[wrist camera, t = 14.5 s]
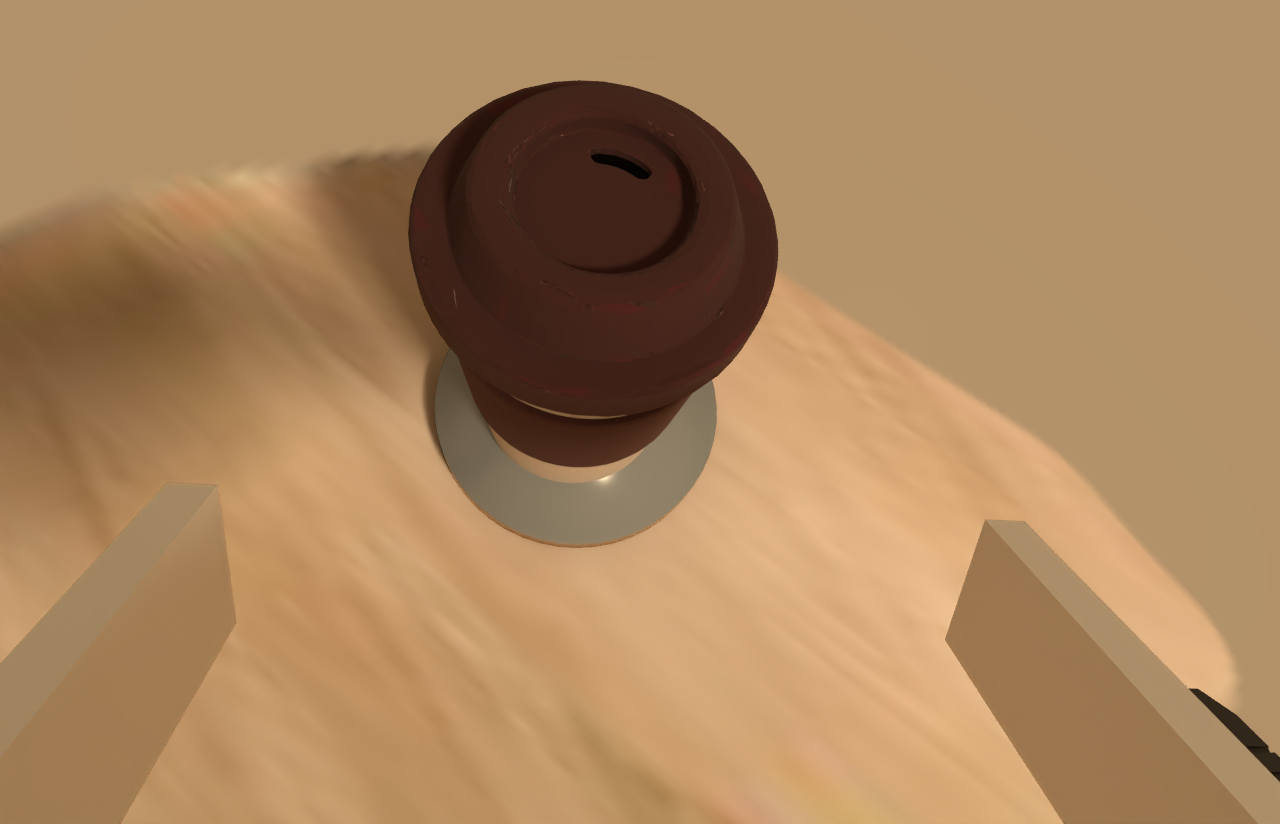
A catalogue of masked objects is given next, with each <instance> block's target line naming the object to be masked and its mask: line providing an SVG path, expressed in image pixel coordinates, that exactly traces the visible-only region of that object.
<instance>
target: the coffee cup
mask: <svg viewBox="0 0 1280 824" xmlns="http://www.w3.org/2000/svg"><path fill="white" fill-rule="evenodd" d="M408 235H409V247H410V254H411V258H412V263H413V268H414V272H415V276H416V279H417V283H418V287H419V291H420V294H421V297H422V300H423V303H424V305H425V308H426V310H427V312H428V314H429V316H430V318H431V320H432V322H433V324H434V325H435V327H436V329H437V330H438V332H439V333H440V335H441V336H442V338H443V339H444V340H445V342H446V343H447V344H448V346H449V347H450V348H451V349H452V351H453V352H454V353H455V355H456V356H457V357H458V359H459V362H460V365H461V367H462V370H463V373H464V375H465V378H466V381H467V383H468V386H469V389H470V391H471V394H472V396H473V399H474V401H475V403H476V405H477V407H478V409H479V411H480V413H481V414H482V416H483V417H484V419H485V420H486V422H487V423H488V424H489V427H490V430H491V432H492V434H493V436H494V438H495V440H496V441H497V443H498V444H499V446H500V447H501V449H502V450H503V451H504V452H505V453H506V455H508V456H509V457H510V458H511V459H512V460H513V461H514V462H515V463H516V464H518V465H519V466H520V467H522V468H523V469H525V470H527V471H529V472H530V473H532V474H534V475H536V476H539V477H541V478H545V479H548V480H551V481H556V482H563V483H585V482H591V481H595V480H599V479H602V478H605V477H608V476H610V475H612V474H614V473H616V472H618V471H620V470H621V469H623V468H625V467H626V466H627V465H628V464H630V463H631V462H632V461H633V460H634V459H635V458H636V457H637V456H638V455H639V454H640V453H641V452H642V451H643V449H644V448H645V447H646V446H647V445H649V444H650V443H651V442H653V441H654V440H655V439H656V438H657V437H658V436H659V435H660V434H661V433H662V432H663V431H664V430H665V428H666V427H667V426H668V425H669V423H670V422H671V421H672V420H673V418H674V417H675V416H676V414H677V413H678V412H679V410H680V409H681V408H682V406H683V405H684V404H685V402H686V401H687V400H688V399H689V397H690V396H691V395H692V393H694V392H695V391H697V390H698V389H700V388H701V387H702V386H704V385H705V384H707V383H708V382H709V381H711V380H712V379H714V378H715V377H717V376H718V375H719V374H720V373H721V372H722V371H723V370H724V369H725V368H726V367H727V366H728V365H729V364H730V363H731V362H732V361H733V359H734V358H735V357H736V356H737V354H738V353H739V352H740V351H741V349H742V348H743V346H744V345H745V343H746V342H747V340H748V338H749V337H750V335H751V334H752V332H753V330H754V329H755V327H756V325H757V324H758V322H759V320H760V319H761V316H762V314H763V312H764V310H765V308H766V306H767V304H768V301H769V298H770V295H771V292H772V289H773V286H774V282H775V276H776V270H777V262H778V239H777V233H776V226H775V220H774V216H773V212H772V210H771V207H770V204H769V202H768V200H767V197H766V195H765V192H764V189H763V187H762V184H761V183H760V181H759V179H758V178H757V176H756V174H755V172H754V171H753V169H752V168H751V166H750V165H749V164H748V162H747V161H746V160H745V158H744V157H743V156H742V155H741V154H740V152H739V151H738V150H737V149H736V148H735V147H734V145H733V144H732V143H731V142H730V141H729V140H728V139H727V138H725V137H724V136H723V135H722V134H721V133H720V132H719V131H718V130H717V129H716V128H715V127H713V126H712V125H710V124H709V123H708V122H706V121H705V120H703V119H702V118H701V117H699V116H698V115H696V114H695V113H693V112H692V111H690V110H689V109H687V108H685V107H683V106H681V105H679V104H677V103H676V102H674V101H671V100H669V99H667V98H665V97H662V96H660V95H657V94H654V93H651V92H647V91H644V90H641V89H638V88H634V87H630V86H625V85H619V84H613V83H607V82H599V81H563V82H553V83H548V84H543V85H538V86H534V87H529V88H524V89H521V90H518V91H516V92H513V93H511V94H508V95H506V96H503V97H501V98H498V99H496V100H493V101H492V102H490V103H488V104H487V105H485V106H483V107H482V108H480V109H478V110H477V111H475V112H473V113H472V114H470V115H469V116H468V117H467V118H465V119H464V120H463V121H462V122H461V123H460V124H458V125H457V126H456V127H455V128H454V129H452V130H451V132H450V133H449V134H448V135H447V136H446V137H445V138H444V139H443V140H442V141H441V142H440V143H439V145H438V146H437V147H436V149H435V150H434V151H433V153H432V154H431V156H430V158H429V159H428V161H427V163H426V165H425V167H424V169H423V171H422V173H421V175H420V177H419V178H418V181H417V184H416V188H415V191H414V194H413V198H412V202H411V207H410V218H409V233H408Z"/></svg>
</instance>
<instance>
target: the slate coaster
mask: <svg viewBox="0 0 1280 824" xmlns="http://www.w3.org/2000/svg"><path fill="white" fill-rule="evenodd" d="M435 421H436V428H437V434H438V438H439V441H440V444H441V448H442V451H443V454H444V457H445V460H446V462H447V464H448V467H449V469H450V471H451V473H452V475H453V477H454V479H455V480H456V482H457V483H458V485H459V487H460V488H461V490H462V491H463V493H464V494H465V495H466V496H467V497H468V498H469V500H470V501H471V502H472V503H473V504H474V505H475V506H476V507H477V508H478V509H479V510H480V511H481V512H482V513H484V514H485V515H486V516H487V517H488V518H489V519H491V520H492V521H494V522H495V523H497V524H498V525H500V526H501V527H503V528H504V529H506V530H508V531H510V532H513V533H515V534H517V535H519V536H521V537H523V538H526V539H529V540H532V541H535V542H538V543H542V544H547V545H552V546H557V547H571V548H583V547H597V546H602V545H607V544H612V543H616V542H619V541H621V540H624V539H627V538H630V537H633V536H635V535H637V534H639V533H641V532H643V531H645V530H647V529H649V528H650V527H652V526H653V525H655V524H656V523H657V522H659V521H660V520H662V519H663V518H664V517H665V516H667V515H668V514H669V513H670V512H671V511H672V510H673V509H674V508H675V507H676V506H677V505H678V504H679V503H680V502H681V501H682V499H683V498H684V497H685V496H686V495H687V493H688V492H689V491H690V489H691V488H692V487H693V485H694V484H695V482H696V481H697V479H698V477H699V476H700V474H701V473H702V471H703V469H704V466H705V464H706V462H707V460H708V457H709V455H710V451H711V448H712V444H713V441H714V436H715V429H716V398H715V391H714V386H713V382H712V380H711V381H709V382H708V383H707V384H705V385H704V386H702V387H701V388H700V389H698V390H697V391H695V392H694V393H692V395H691V396H690V397H689V399H688V400H687V401H686V402H685V404H684V405H683V406H682V408H681V409H680V410H679V412H678V413H677V414H676V416H675V417H674V418H673V420H672V421H671V422H670V423H669V425H668V426H667V427H666V428H665V430H664V431H663V432H662V433H661V434H660V435H659V436H658V437H657V438H656V439H655V440H654V441H653V442H651V443H650V444H649V445H647V446H646V447H645V448H644V449H643V451H642V452H641V453H640V454H639V455H638V456H637V457H636V458H635V459H634V460H633V461H632V462H631V463H630V464H628V465H627V466H626V467H625V468H623V469H621V470H620V471H618V472H616V473H614V474H612V475H610V476H608V477H605V478H602V479H599V480H595V481H591V482H585V483H563V482H556V481H551V480H548V479H545V478H541V477H539V476H536V475H534V474H532V473H530V472H529V471H527V470H525V469H523V468H522V467H520V466H519V465H518V464H516V463H515V462H514V461H513V460H512V459H511V458H510V457H509V456H508V455H506V453H505V452H504V451H503V450H502V449H501V447H500V446H499V444H498V443H497V441H496V440H495V438H494V436H493V434H492V432H491V430H490V427H489V424H488V423H487V422H486V420H485V419H484V417H483V416H482V414H481V413H480V411H479V409H478V407H477V405H476V403H475V401H474V399H473V396H472V394H471V391H470V389H469V386H468V383H467V381H466V378H465V375H464V373H463V370H462V367H461V365H460V362H459V359H458V357H457V356H456V355H455V353H454V352H453V351H452V349H451V348H450V349H449V351H448V353H447V355H446V358H445V360H444V362H443V364H442V367H441V371H440V374H439V378H438V381H437V387H436V394H435Z"/></svg>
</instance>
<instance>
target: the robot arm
mask: <svg viewBox="0 0 1280 824" xmlns="http://www.w3.org/2000/svg"><path fill="white" fill-rule="evenodd" d="M235 624H236V616H235V608H234V601H233V593H232V586H231V578H230V571H229V563H228V556H227V548H226V541H225V533H224V526H223V519H222V511H221V504H220V496H219V489H218V485H206V484H184V483H166V485H165V486H164V487H163V488H162V489H161V490H160V491H159V492H158V493H157V494H156V495H155V496H154V498H153V499H152V500H151V501H150V502H149V503H148V504H147V505H146V506H145V507H144V508H143V509H142V511H141V512H140V513H139V514H138V515H137V516H136V517H135V518H134V519H133V520H132V521H131V523H130V524H129V525H128V526H127V527H126V528H125V529H124V530H123V531H122V532H121V533H120V534H119V536H118V537H117V538H116V539H115V540H114V541H113V542H112V543H111V544H110V545H109V546H108V547H107V549H106V550H105V551H104V552H103V553H102V554H101V555H100V556H99V557H98V558H97V559H96V560H95V562H94V563H93V564H92V565H91V566H90V567H89V568H88V569H87V570H86V571H85V572H84V574H83V575H82V576H81V577H80V578H79V579H78V580H77V581H76V582H75V583H74V584H73V585H72V587H71V588H70V589H69V590H68V591H67V592H66V593H65V594H64V595H63V596H62V597H61V598H60V600H59V601H58V602H57V603H56V604H55V605H54V606H53V607H52V608H51V609H50V610H49V612H48V613H47V614H46V615H45V616H44V617H43V618H42V619H41V620H40V621H39V622H38V623H37V625H36V626H35V627H34V628H33V629H32V630H31V631H30V632H29V633H28V634H27V635H26V636H25V638H24V639H23V640H22V641H21V642H20V643H19V644H18V645H17V646H16V647H15V648H14V649H13V651H12V652H11V653H10V654H9V655H8V656H7V657H6V658H5V659H4V660H3V661H2V663H1V664H0V824H121V822H122V820H123V818H124V817H125V815H126V813H127V811H128V810H129V808H130V806H131V804H132V803H133V801H134V799H135V798H136V796H137V794H138V792H139V791H140V789H141V787H142V785H143V784H144V782H145V780H146V778H147V777H148V775H149V773H150V771H151V770H152V768H153V766H154V765H155V763H156V761H157V759H158V758H159V756H160V754H161V752H162V751H163V749H164V747H165V745H166V744H167V742H168V740H169V738H170V737H171V735H172V733H173V731H174V730H175V728H176V726H177V725H178V723H179V721H180V719H181V718H182V716H183V714H184V712H185V711H186V709H187V707H188V705H189V704H190V702H191V700H192V698H193V697H194V695H195V693H196V691H197V690H198V688H199V686H200V685H201V683H202V681H203V679H204V678H205V676H206V674H207V672H208V671H209V669H210V667H211V665H212V664H213V662H214V660H215V658H216V657H217V655H218V653H219V651H220V650H221V648H222V646H223V645H224V643H225V641H226V639H227V638H228V636H229V634H230V632H231V631H232V629H233V627H234V625H235ZM945 640H946V642H947V644H948V645H949V647H950V648H951V650H952V651H953V653H954V654H955V656H956V657H957V659H958V661H959V662H960V664H961V665H962V667H963V668H964V670H965V671H966V673H967V674H968V676H969V678H970V679H971V681H972V682H973V684H974V685H975V687H976V688H977V690H978V692H979V693H980V695H981V696H982V698H983V699H984V701H985V702H986V704H987V705H988V707H989V709H990V710H991V712H992V713H993V715H994V716H995V718H996V719H997V721H998V722H999V724H1000V726H1001V727H1002V729H1003V730H1004V732H1005V733H1006V735H1007V736H1008V738H1009V739H1010V741H1011V743H1012V744H1013V746H1014V747H1015V749H1016V750H1017V752H1018V753H1019V755H1020V756H1021V758H1022V760H1023V761H1024V763H1025V764H1026V766H1027V767H1028V769H1029V770H1030V772H1031V774H1032V775H1033V777H1034V778H1035V780H1036V781H1037V783H1038V784H1039V786H1040V787H1041V789H1042V791H1043V792H1044V794H1045V795H1046V797H1047V798H1048V800H1049V801H1050V803H1051V804H1052V806H1053V808H1054V809H1055V811H1056V812H1057V814H1058V815H1059V817H1060V818H1061V820H1062V821H1063V823H1064V824H1280V757H1279V756H1278V755H1277V754H1276V753H1270V752H1269V749H1268V745H1267V744H1266V743H1264V742H1263V740H1262V739H1261V738H1259V737H1258V736H1257V735H1256V734H1255V733H1254V732H1253V731H1252V730H1251V729H1250V728H1249V727H1248V726H1247V725H1246V724H1245V723H1244V722H1243V721H1242V720H1241V719H1240V718H1239V717H1238V716H1237V715H1236V714H1234V713H1233V712H1231V711H1230V710H1228V709H1227V708H1225V707H1224V706H1222V705H1221V704H1220V703H1218V702H1217V701H1215V700H1214V699H1212V698H1211V697H1209V696H1208V695H1206V694H1205V693H1203V692H1202V691H1200V690H1199V689H1188V688H1187V687H1186V686H1185V685H1184V684H1183V683H1182V682H1181V681H1180V680H1179V679H1178V678H1177V677H1176V675H1175V674H1174V673H1173V672H1172V671H1171V670H1170V669H1169V668H1168V667H1167V666H1166V665H1165V664H1164V663H1163V662H1162V661H1161V660H1160V659H1159V658H1158V657H1157V656H1156V655H1155V654H1154V653H1153V652H1152V651H1151V650H1150V649H1149V648H1148V647H1147V646H1146V645H1145V644H1144V643H1143V642H1142V641H1141V640H1140V639H1139V638H1138V637H1137V636H1136V635H1135V634H1134V633H1133V632H1132V631H1131V629H1130V628H1129V627H1128V626H1127V625H1126V624H1125V623H1124V622H1123V621H1122V620H1121V619H1120V618H1119V617H1118V616H1117V615H1116V614H1115V613H1114V612H1113V611H1112V610H1111V609H1110V608H1109V607H1108V606H1107V605H1106V604H1105V603H1104V602H1103V601H1102V600H1101V599H1100V598H1099V597H1098V596H1097V595H1096V594H1095V593H1094V592H1093V591H1092V590H1091V589H1090V588H1089V587H1088V586H1087V585H1086V584H1085V582H1084V581H1083V580H1082V579H1081V578H1080V577H1079V576H1078V575H1077V574H1076V573H1075V572H1074V571H1073V570H1072V569H1071V568H1070V567H1069V566H1068V565H1067V564H1066V563H1065V562H1064V561H1063V560H1062V559H1061V558H1060V557H1059V556H1058V555H1057V554H1056V553H1055V552H1054V551H1053V550H1052V549H1051V548H1050V547H1049V546H1048V545H1047V544H1046V543H1045V542H1044V541H1043V540H1042V539H1041V538H1040V536H1039V535H1038V534H1037V533H1036V532H1035V531H1034V530H1033V529H1032V528H1031V527H1030V526H1029V525H1028V524H1027V523H1026V522H1025V521H1007V520H985V522H984V525H983V528H982V531H981V534H980V537H979V540H978V543H977V546H976V549H975V552H974V555H973V558H972V561H971V564H970V566H969V569H968V572H967V575H966V578H965V581H964V584H963V587H962V590H961V593H960V596H959V599H958V602H957V605H956V608H955V611H954V614H953V617H952V620H951V623H950V626H949V629H948V632H947V635H946V638H945Z"/></svg>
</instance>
